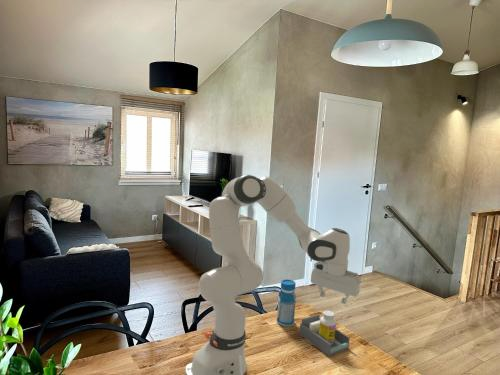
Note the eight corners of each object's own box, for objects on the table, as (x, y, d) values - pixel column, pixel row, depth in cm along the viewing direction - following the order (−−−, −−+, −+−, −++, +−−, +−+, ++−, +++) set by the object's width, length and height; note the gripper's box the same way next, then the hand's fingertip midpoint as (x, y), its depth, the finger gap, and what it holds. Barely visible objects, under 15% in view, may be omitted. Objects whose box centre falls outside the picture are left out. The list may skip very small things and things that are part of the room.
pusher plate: (311, 338, 146) (312, 324, 145) (308, 336, 147) (309, 323, 146) (326, 332, 151) (328, 320, 150) (324, 330, 152) (325, 318, 151)
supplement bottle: (328, 348, 140) (331, 318, 138) (315, 340, 144) (317, 312, 143) (337, 342, 144) (339, 313, 142) (324, 335, 149) (326, 307, 147)
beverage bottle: (283, 328, 154) (286, 286, 152) (273, 319, 162) (275, 279, 159) (297, 324, 159) (301, 284, 156) (287, 316, 166) (290, 277, 164)
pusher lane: (328, 356, 136) (330, 340, 135) (299, 334, 151) (300, 319, 150) (348, 348, 142) (350, 332, 141) (318, 327, 157) (319, 313, 156)
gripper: (363, 272, 136) (360, 304, 138) (316, 259, 147) (313, 289, 149) (359, 276, 131) (355, 310, 132) (310, 263, 142) (307, 294, 144)
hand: (332, 299), depth 141 cm, fingers open, 8 cm apart
